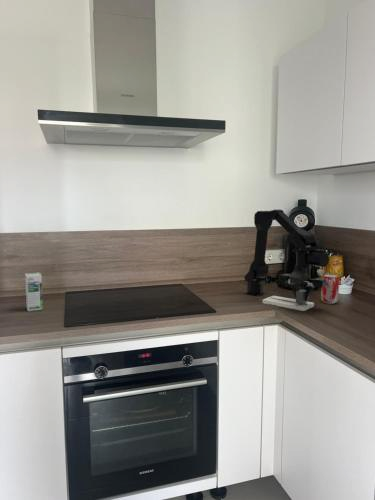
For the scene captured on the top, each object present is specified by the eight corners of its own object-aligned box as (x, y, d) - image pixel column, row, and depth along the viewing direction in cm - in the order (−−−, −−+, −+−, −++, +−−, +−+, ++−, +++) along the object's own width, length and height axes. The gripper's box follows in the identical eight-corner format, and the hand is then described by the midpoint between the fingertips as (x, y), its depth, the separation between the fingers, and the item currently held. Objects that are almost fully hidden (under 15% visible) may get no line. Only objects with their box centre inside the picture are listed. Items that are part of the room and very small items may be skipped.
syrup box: (27, 311, 152) (26, 275, 150) (26, 307, 157) (24, 272, 155) (43, 309, 154) (41, 274, 153) (41, 306, 160) (39, 271, 158)
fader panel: (262, 303, 168) (262, 299, 168) (273, 298, 176) (273, 295, 176) (304, 311, 156) (304, 307, 156) (314, 306, 164) (314, 302, 164)
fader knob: (295, 302, 161) (296, 291, 160) (300, 300, 165) (301, 289, 164) (302, 304, 159) (302, 292, 159) (307, 301, 163) (307, 290, 162)
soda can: (319, 303, 169) (321, 276, 168) (322, 299, 175) (323, 273, 174) (336, 305, 166) (338, 277, 164) (338, 301, 172) (340, 275, 171)
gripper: (273, 263, 160) (272, 300, 162) (317, 268, 148) (315, 308, 150) (285, 260, 168) (284, 295, 170) (328, 265, 156) (326, 302, 158)
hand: (301, 300), depth 162 cm, fingers open, 4 cm apart
